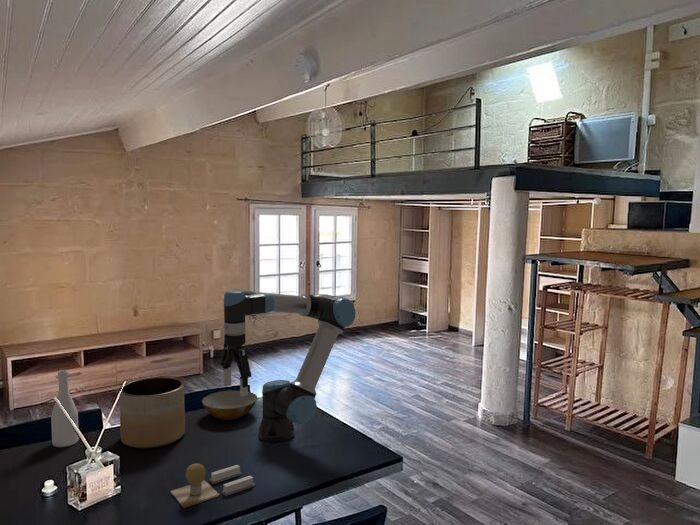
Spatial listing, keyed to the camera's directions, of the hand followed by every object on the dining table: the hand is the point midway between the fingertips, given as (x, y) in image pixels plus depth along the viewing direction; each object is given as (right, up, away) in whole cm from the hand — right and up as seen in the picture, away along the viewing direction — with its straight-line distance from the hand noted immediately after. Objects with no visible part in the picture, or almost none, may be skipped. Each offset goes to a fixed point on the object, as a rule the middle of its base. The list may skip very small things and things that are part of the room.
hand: (235, 390), depth 192 cm
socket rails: (+1, -30, -10) cm, 32 cm away
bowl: (-14, -25, +52) cm, 59 cm away
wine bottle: (-74, -27, +21) cm, 81 cm away
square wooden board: (-10, -30, -18) cm, 36 cm away
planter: (-40, -26, +27) cm, 55 cm away
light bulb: (-9, -30, -18) cm, 36 cm away
